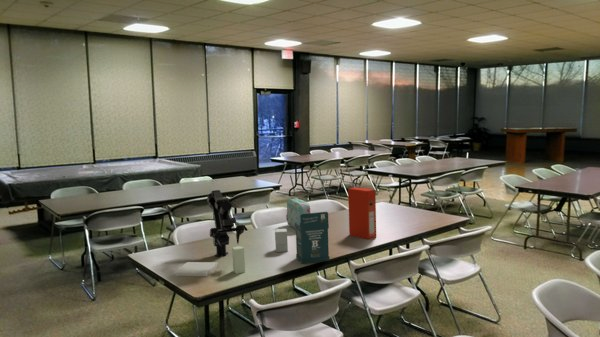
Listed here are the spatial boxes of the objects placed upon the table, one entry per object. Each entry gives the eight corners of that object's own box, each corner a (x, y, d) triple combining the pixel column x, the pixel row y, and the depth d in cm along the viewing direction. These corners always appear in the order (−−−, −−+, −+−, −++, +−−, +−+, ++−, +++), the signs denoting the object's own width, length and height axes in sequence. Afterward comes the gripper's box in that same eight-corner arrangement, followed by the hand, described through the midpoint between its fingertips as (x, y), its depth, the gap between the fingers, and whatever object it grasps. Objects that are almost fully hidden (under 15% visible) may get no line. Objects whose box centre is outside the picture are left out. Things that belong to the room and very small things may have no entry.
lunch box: (284, 224, 342) (283, 197, 339) (297, 223, 346) (296, 195, 344) (299, 232, 318) (298, 202, 315) (312, 230, 322) (311, 200, 320)
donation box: (302, 264, 248) (300, 214, 245) (294, 256, 263) (292, 208, 260) (329, 260, 252) (328, 211, 249) (320, 252, 267) (318, 206, 264)
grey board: (187, 264, 253) (186, 262, 253) (217, 265, 251) (217, 262, 251) (173, 275, 236) (173, 273, 235) (206, 276, 233) (206, 273, 233)
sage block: (233, 271, 240) (232, 247, 239) (242, 269, 242) (241, 245, 241) (236, 273, 236) (234, 249, 234) (245, 272, 238) (244, 248, 236)
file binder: (368, 239, 293) (367, 191, 289) (349, 234, 306) (348, 188, 302) (376, 237, 298) (375, 189, 294) (357, 232, 311) (356, 187, 307)
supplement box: (287, 248, 279) (287, 228, 278) (287, 251, 272) (287, 231, 270) (275, 248, 279) (275, 228, 277) (275, 252, 271) (274, 231, 270)
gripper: (209, 214, 242) (214, 240, 234) (243, 210, 248) (248, 236, 241) (207, 223, 251) (211, 249, 243) (240, 219, 257) (245, 245, 250)
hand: (229, 244), depth 244 cm, fingers open, 9 cm apart
